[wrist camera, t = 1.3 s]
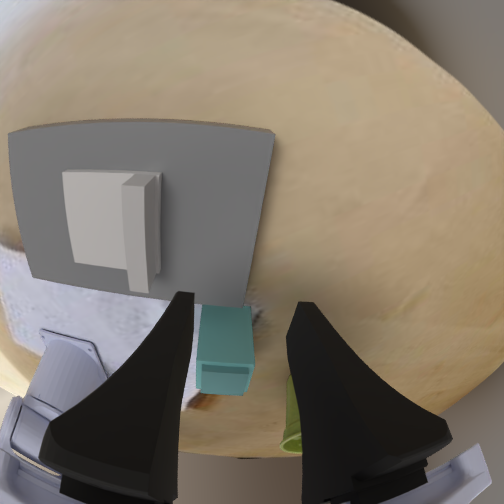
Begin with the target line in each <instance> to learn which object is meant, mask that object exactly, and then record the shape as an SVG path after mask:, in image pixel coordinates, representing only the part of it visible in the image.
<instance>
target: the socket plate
mask: <svg viewBox="0 0 504 504" xmlns="http://www.w3.org/2000/svg"><path fill="white" fill-rule="evenodd" d="M274 140H275V134H274V133H273V132H272V131H271V130H268V129H261V128H255V127H248V126H241V125H233V124H224V123H215V122H204V121H191V120H175V119H99V120H83V121H71V122H62V123H53V124H45V125H38V126H32V127H27V128H23V129H20V130H17V131H14V132H11V133H8V148H9V164H10V174H11V183H12V191H13V198H14V204H15V210H16V215H17V220H18V225H19V229H20V234H21V238H22V242H23V246H24V250H25V253H26V257H27V261H28V264H29V267H30V270H31V274H32V277H33V278H37V279H42V280H47V281H51V282H56V283H61V284H67V285H72V286H77V287H83V288H88V289H94V290H100V291H106V292H112V293H118V294H125V295H132V296H138V297H146V298H153V299H161V300H168V301H172V299H173V297H174V295H175V293H176V292H178V291H183V292H192V293H195V300H194V304H204V305H214V306H224V307H235V308H243V305H244V299H245V294H246V289H247V284H248V278H249V273H250V268H251V262H252V257H253V252H254V246H255V241H256V236H257V230H258V225H259V220H260V214H261V209H262V204H263V198H264V193H265V188H266V182H267V177H268V172H269V166H270V161H271V156H272V150H273V145H274ZM67 169H92V170H128V171H147V172H162V180H161V217H160V240H161V270H160V273H159V274H157V273H156V275H155V278H154V281H153V283H152V286H151V289H150V292H149V293H142V292H135V291H130V288H129V281H128V273H127V270H125V269H118V268H110V267H103V266H96V265H89V264H82V263H76V262H75V261H74V256H73V251H72V246H71V241H70V235H69V229H68V222H67V215H66V208H65V199H64V189H63V176H62V172H64V171H65V170H67Z"/></svg>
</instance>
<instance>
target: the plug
mask: <svg viewBox="0 0 504 504" xmlns="http://www.w3.org/2000/svg"><path fill="white" fill-rule="evenodd" d="M254 367H255V356H254V344H253V331H252V319H251V306H243V308H235V307H224V306H214V305H204V304H202V312H201V321H200V329H199V339H198V348H197V358H196V388H197V389H201V393H207V394H220V395H239V396H243V393H244V392H247V390H248V386H249V383H250V380H251V377H252V373H253V370H254Z"/></svg>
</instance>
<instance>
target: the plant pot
mask: <svg viewBox="0 0 504 504" xmlns="http://www.w3.org/2000/svg"><path fill="white" fill-rule="evenodd" d="M280 449H281V450H282V451H285V452H289V453H302V440H301V427H300V416H299V410H298V404H297V399H296V395H295V390H294V386H293V381H292V377H291V375H290V376H289V378H288V381H287V406H286V429H285V430H284V435H283V441H282V442H281V443H280Z"/></svg>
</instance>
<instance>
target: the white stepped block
mask: <svg viewBox="0 0 504 504" xmlns="http://www.w3.org/2000/svg"><path fill="white" fill-rule="evenodd" d="M62 176H63V189H64V199H65V208H66V215H67V222H68V229H69V235H70V241H71V246H72V251H73V256H74V261H75V262H76V263H82V264H89V265H96V266H103V267H110V268H118V269H125V270H127V273H128V281H129V288H130V291H135V292H142V293H149V292H150V289H151V286H152V283H153V281H154V278H155V275H156V273H157V274H159V273H160V270H161V240H160V217H161V180H162V172H147V171H128V170H92V169H67V170H65V171H64V172H62Z"/></svg>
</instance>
